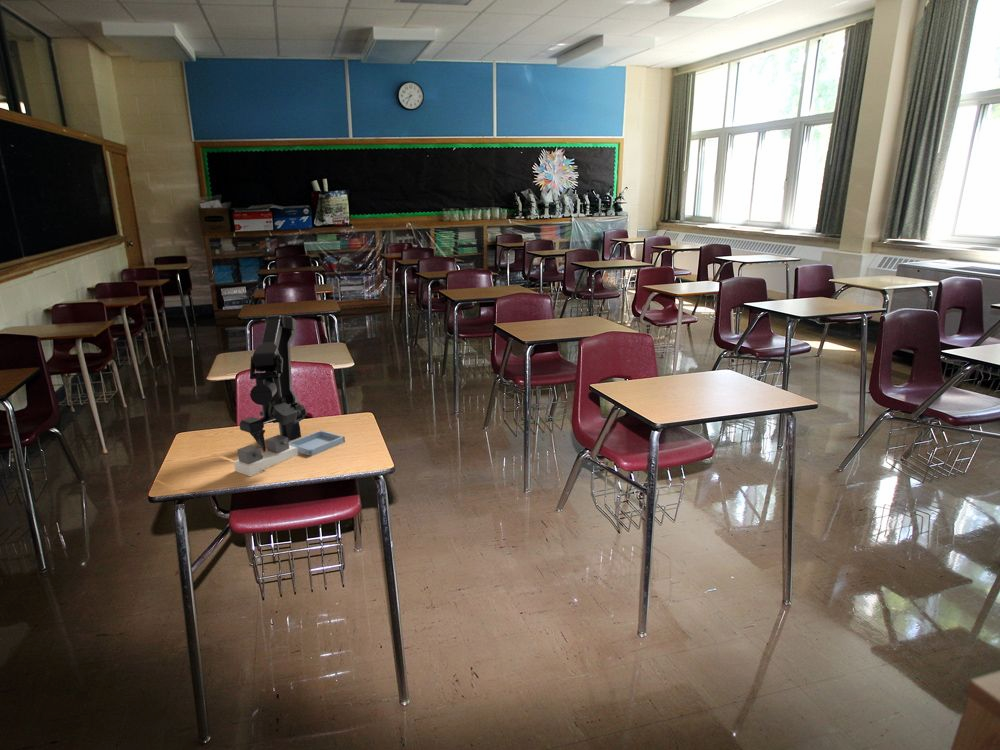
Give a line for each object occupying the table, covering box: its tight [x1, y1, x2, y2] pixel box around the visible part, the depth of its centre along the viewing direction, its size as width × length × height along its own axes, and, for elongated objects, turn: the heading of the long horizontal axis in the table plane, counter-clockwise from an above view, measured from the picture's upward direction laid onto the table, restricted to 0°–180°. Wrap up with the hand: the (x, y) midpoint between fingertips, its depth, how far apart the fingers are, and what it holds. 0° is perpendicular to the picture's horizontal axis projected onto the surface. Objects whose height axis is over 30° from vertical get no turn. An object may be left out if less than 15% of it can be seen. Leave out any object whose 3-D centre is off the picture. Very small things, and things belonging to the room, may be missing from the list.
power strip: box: [233, 444, 299, 477], centre depth 178 cm, size 9×16×6 cm, turn 145°
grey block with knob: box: [265, 434, 290, 454], centre depth 181 cm, size 6×4×6 cm
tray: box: [288, 429, 346, 457], centre depth 190 cm, size 11×13×2 cm
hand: (277, 445), depth 181 cm, fingers open, 9 cm apart
